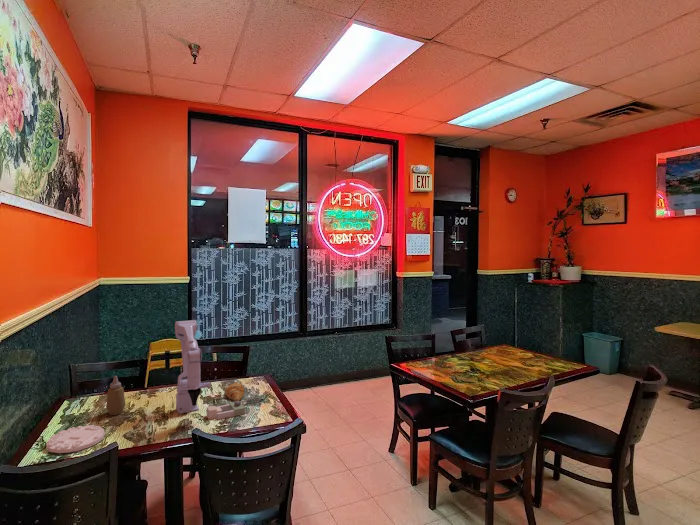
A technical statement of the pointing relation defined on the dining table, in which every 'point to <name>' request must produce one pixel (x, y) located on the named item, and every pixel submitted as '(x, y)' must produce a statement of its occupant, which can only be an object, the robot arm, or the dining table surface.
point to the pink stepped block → (213, 411)
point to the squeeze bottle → (115, 398)
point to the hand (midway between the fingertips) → (194, 404)
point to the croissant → (234, 391)
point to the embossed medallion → (75, 439)
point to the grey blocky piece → (231, 410)
